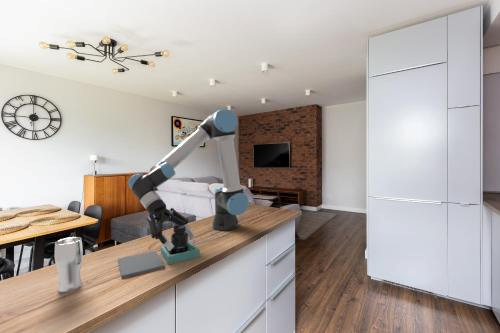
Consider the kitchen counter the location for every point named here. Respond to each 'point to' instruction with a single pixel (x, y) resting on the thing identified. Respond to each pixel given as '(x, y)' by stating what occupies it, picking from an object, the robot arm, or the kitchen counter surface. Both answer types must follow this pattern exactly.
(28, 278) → the kitchen counter surface
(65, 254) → the beer glass
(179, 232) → the supplement bottle
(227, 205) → the robot arm
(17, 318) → the kitchen counter surface
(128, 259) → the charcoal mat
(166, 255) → the teal collar
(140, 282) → the kitchen counter surface
